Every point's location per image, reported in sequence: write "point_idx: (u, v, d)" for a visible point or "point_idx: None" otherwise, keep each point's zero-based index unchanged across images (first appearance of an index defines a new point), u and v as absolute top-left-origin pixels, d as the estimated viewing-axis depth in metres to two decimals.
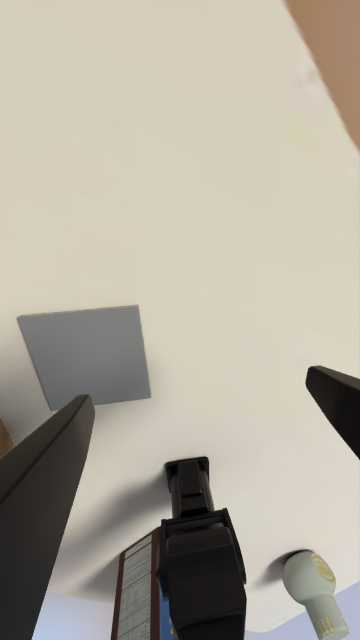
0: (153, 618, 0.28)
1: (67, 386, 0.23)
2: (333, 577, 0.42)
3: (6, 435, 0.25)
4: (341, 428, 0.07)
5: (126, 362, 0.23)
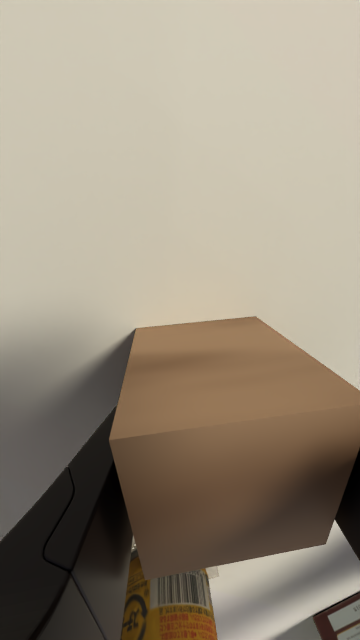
0: None
1: None
2: None
3: None
4: None
5: None
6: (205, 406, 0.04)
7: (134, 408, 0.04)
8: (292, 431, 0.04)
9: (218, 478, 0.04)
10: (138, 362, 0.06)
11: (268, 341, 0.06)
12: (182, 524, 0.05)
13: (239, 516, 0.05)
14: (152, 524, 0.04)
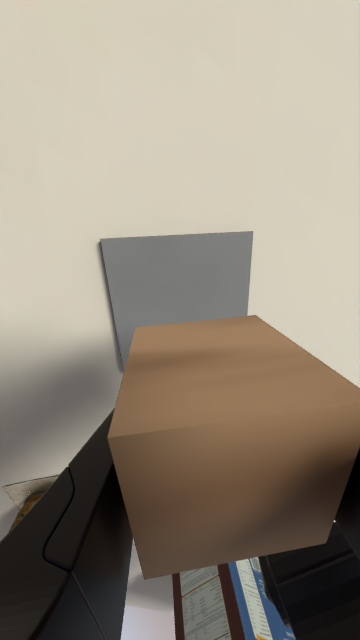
0: (234, 631, 0.23)
1: None
2: None
3: None
4: None
5: (224, 310, 0.18)
6: (205, 404, 0.04)
7: (133, 406, 0.04)
8: (292, 429, 0.04)
9: (217, 476, 0.04)
10: (137, 360, 0.06)
11: (268, 339, 0.06)
12: (181, 523, 0.05)
13: (239, 515, 0.05)
14: (152, 524, 0.04)
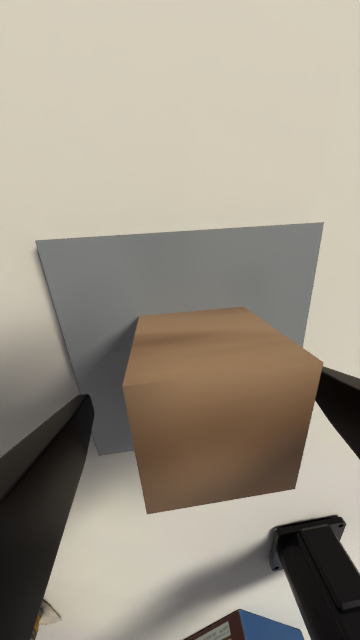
0: None
1: None
2: None
3: None
4: (341, 428, 0.07)
5: None
6: (195, 366, 0.05)
7: (140, 368, 0.05)
8: (260, 385, 0.05)
9: (204, 422, 0.05)
10: (142, 339, 0.07)
11: (251, 324, 0.08)
12: (177, 462, 0.06)
13: (222, 457, 0.06)
14: (154, 462, 0.06)
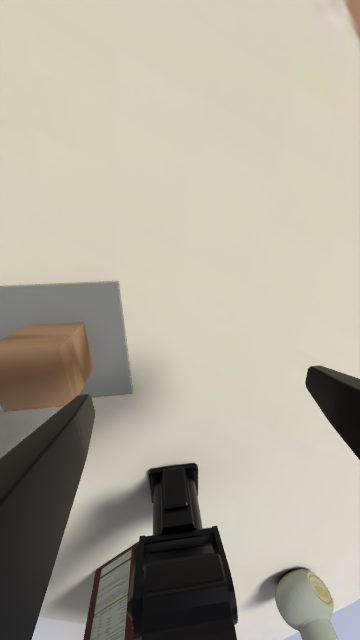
0: None
1: None
2: (331, 599, 0.39)
3: (88, 350, 0.19)
4: (341, 428, 0.07)
5: (103, 350, 0.20)
6: (13, 347, 0.14)
7: None
8: (36, 354, 0.14)
9: (17, 368, 0.14)
10: (9, 336, 0.16)
11: (67, 331, 0.16)
12: (11, 386, 0.14)
13: (31, 385, 0.15)
14: (1, 385, 0.14)
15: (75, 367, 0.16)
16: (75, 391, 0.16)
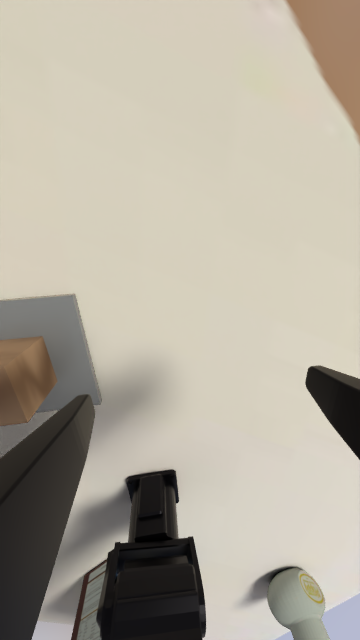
0: None
1: None
2: (322, 598, 0.39)
3: (49, 364, 0.19)
4: (341, 428, 0.07)
5: (65, 363, 0.20)
6: None
7: None
8: None
9: None
10: None
11: (20, 348, 0.16)
12: None
13: None
14: None
15: (29, 384, 0.16)
16: (29, 408, 0.16)
